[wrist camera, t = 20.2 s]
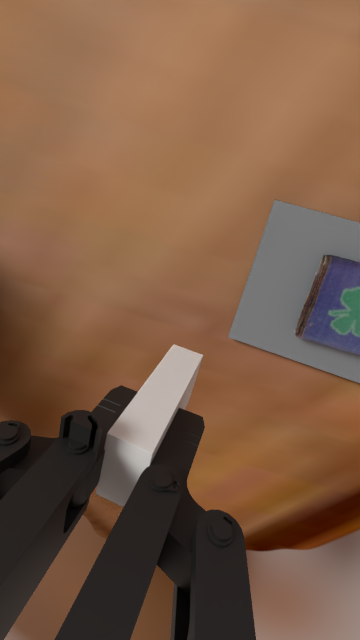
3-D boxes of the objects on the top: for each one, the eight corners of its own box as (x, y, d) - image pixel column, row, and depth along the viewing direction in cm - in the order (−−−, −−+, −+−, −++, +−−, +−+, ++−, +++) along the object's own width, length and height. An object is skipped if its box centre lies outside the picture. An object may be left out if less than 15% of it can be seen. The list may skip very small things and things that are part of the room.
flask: (293, 331, 38) (394, 361, 36) (293, 341, 35) (402, 375, 33) (323, 251, 34) (438, 279, 32) (326, 255, 31) (451, 287, 29)
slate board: (229, 333, 41) (228, 337, 40) (275, 199, 35) (274, 199, 33) (380, 385, 38) (383, 391, 37) (462, 250, 31) (468, 251, 30)
